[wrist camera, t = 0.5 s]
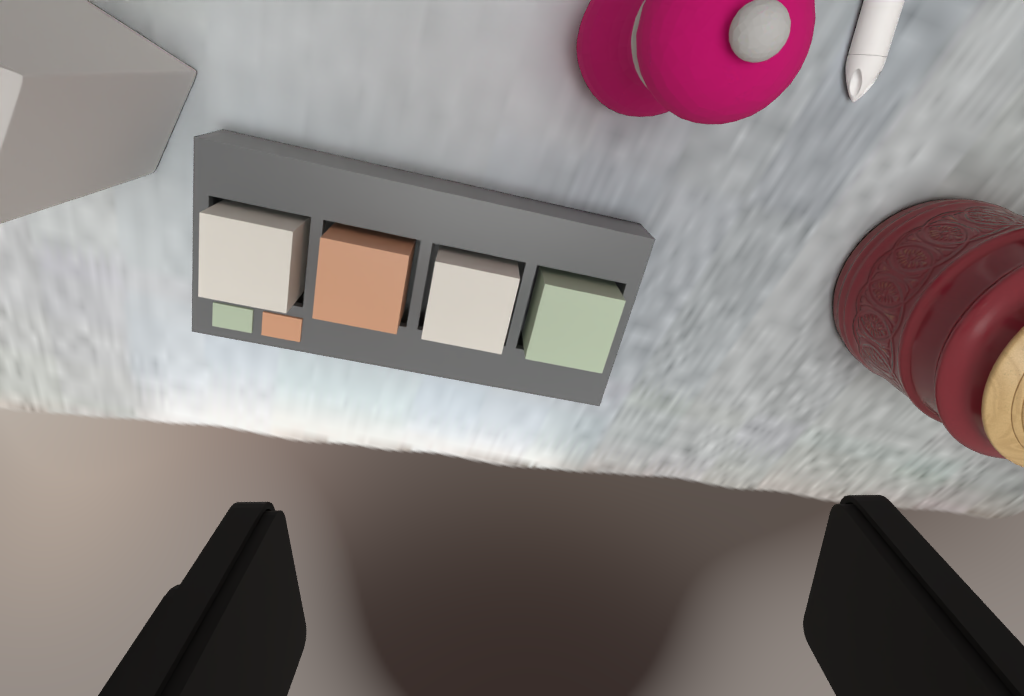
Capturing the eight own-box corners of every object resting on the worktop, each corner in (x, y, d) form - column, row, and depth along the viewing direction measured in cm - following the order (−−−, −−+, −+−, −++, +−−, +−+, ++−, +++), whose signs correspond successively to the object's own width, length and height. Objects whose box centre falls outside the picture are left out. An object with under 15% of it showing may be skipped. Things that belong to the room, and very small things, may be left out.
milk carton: (199, 71, 36) (-67, 78, 19) (155, 173, 38) (-118, 265, 21) (76, -8, 34) (-346, -81, 17) (38, 105, 36) (-367, 144, 19)
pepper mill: (655, 129, 38) (807, 189, 20) (549, 84, 37) (609, 105, 19) (711, 6, 35) (947, -54, 17) (598, -48, 34) (725, -173, 16)
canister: (796, 272, 42) (982, 397, 27) (975, 153, 39) (1308, 215, 23) (870, 397, 47) (1066, 569, 31) (1036, 300, 44) (1347, 434, 28)
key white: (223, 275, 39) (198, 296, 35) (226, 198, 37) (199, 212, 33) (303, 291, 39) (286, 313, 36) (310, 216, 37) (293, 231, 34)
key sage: (522, 334, 41) (525, 358, 38) (539, 264, 39) (544, 284, 36) (592, 347, 42) (602, 373, 38) (613, 280, 40) (626, 300, 36)
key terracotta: (327, 295, 39) (312, 318, 36) (335, 221, 37) (320, 237, 34) (404, 311, 40) (396, 334, 37) (416, 238, 38) (409, 255, 35)
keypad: (217, 308, 42) (190, 332, 38) (222, 129, 37) (192, 137, 33) (590, 378, 45) (599, 407, 42) (640, 223, 41) (655, 240, 37)
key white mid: (426, 315, 40) (421, 339, 37) (439, 243, 38) (435, 261, 35) (500, 329, 41) (501, 354, 37) (517, 259, 39) (520, 278, 35)
